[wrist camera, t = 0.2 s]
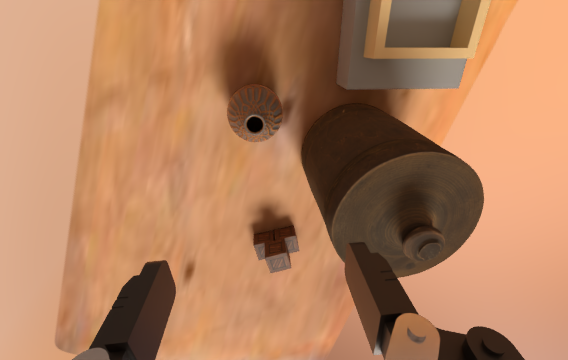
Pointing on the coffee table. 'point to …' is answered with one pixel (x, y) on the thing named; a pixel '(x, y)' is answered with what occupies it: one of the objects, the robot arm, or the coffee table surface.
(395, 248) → the wooden container
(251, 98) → the vase
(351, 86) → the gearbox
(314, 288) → the coffee table surface
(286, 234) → the stack of crates
